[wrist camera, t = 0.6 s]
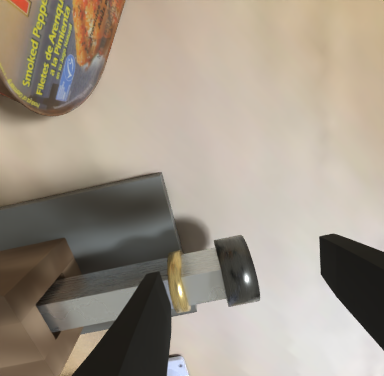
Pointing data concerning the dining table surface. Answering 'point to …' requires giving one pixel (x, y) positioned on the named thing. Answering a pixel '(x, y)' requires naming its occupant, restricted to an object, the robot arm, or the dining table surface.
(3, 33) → the tin
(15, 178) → the dining table surface
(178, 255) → the shaft
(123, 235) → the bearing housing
